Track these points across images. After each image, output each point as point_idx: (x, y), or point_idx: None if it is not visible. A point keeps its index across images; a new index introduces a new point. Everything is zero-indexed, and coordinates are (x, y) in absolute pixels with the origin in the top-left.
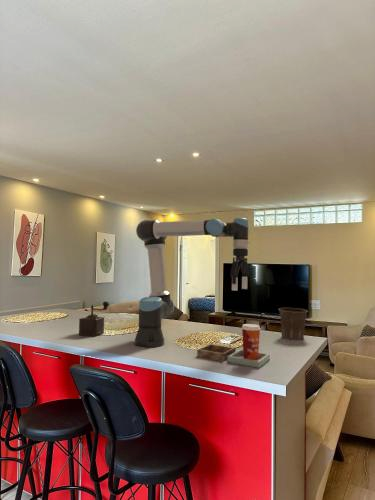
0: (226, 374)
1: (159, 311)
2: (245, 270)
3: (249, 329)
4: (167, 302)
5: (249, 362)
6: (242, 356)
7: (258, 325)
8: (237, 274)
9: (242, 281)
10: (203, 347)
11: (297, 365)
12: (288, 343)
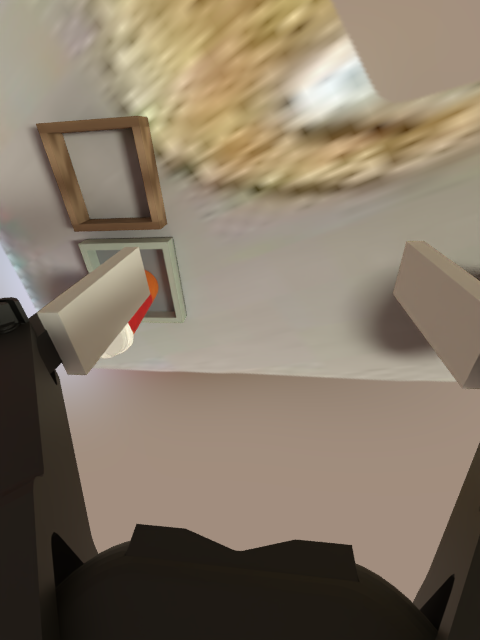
0: (20, 275)
1: None
2: (465, 486)
3: None
4: None
5: None
6: (155, 254)
7: (114, 353)
8: (61, 402)
9: (448, 282)
10: (75, 125)
11: (190, 366)
12: None
